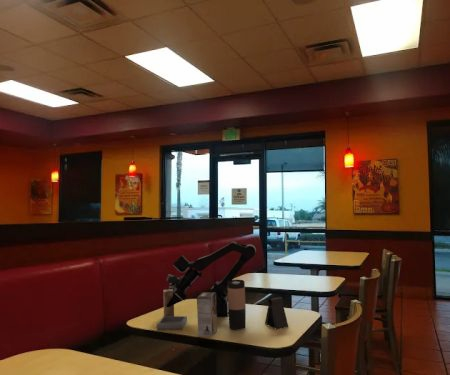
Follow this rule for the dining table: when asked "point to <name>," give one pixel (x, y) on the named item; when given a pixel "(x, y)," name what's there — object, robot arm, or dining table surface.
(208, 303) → the coffee box
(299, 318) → the dining table surface
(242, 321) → the travel mug
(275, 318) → the door stopper
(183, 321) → the tray
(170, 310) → the tan cylinder
